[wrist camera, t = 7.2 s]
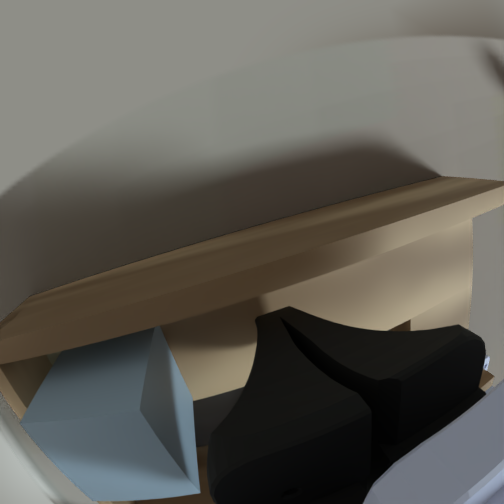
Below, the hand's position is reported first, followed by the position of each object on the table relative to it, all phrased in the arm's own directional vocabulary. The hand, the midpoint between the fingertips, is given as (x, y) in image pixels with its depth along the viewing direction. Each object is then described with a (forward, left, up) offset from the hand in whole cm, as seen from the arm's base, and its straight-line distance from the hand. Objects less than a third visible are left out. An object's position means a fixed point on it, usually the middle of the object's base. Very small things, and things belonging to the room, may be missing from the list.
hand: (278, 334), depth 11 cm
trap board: (-2, -1, -3) cm, 4 cm away
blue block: (0, +6, -1) cm, 6 cm away
